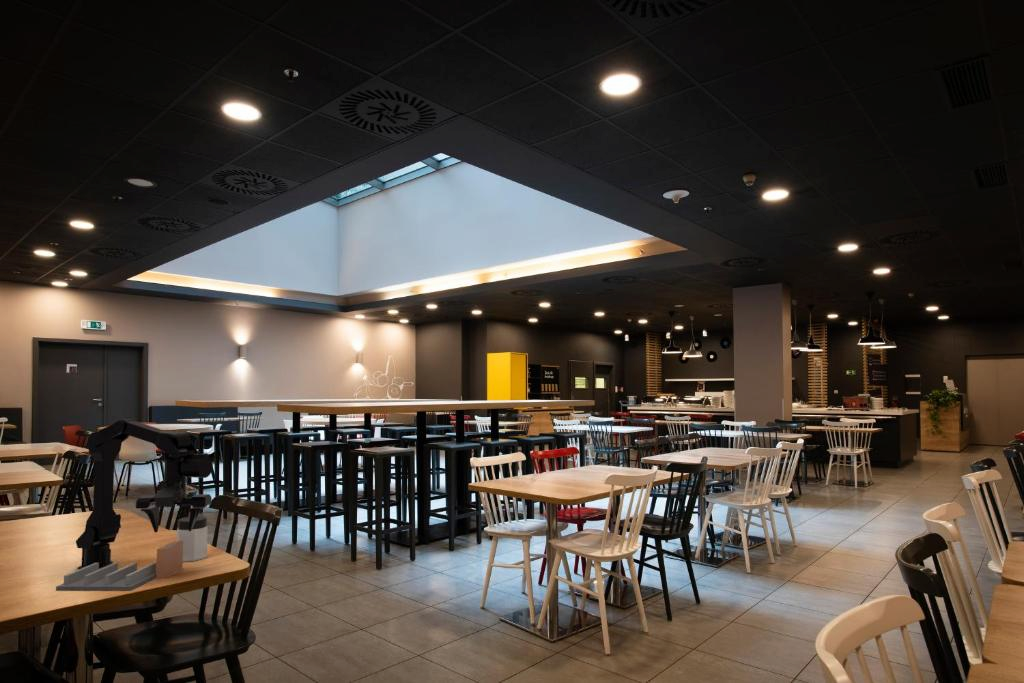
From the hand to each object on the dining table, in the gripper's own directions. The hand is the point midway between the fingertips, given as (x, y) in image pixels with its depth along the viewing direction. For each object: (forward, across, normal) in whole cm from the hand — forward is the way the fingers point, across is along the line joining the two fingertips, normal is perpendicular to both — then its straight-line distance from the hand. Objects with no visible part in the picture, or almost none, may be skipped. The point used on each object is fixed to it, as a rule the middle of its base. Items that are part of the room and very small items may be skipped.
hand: (173, 531), depth 181 cm
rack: (+11, -13, -8) cm, 19 cm away
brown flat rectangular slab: (+11, 0, -1) cm, 11 cm away
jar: (+12, 0, +15) cm, 19 cm away
